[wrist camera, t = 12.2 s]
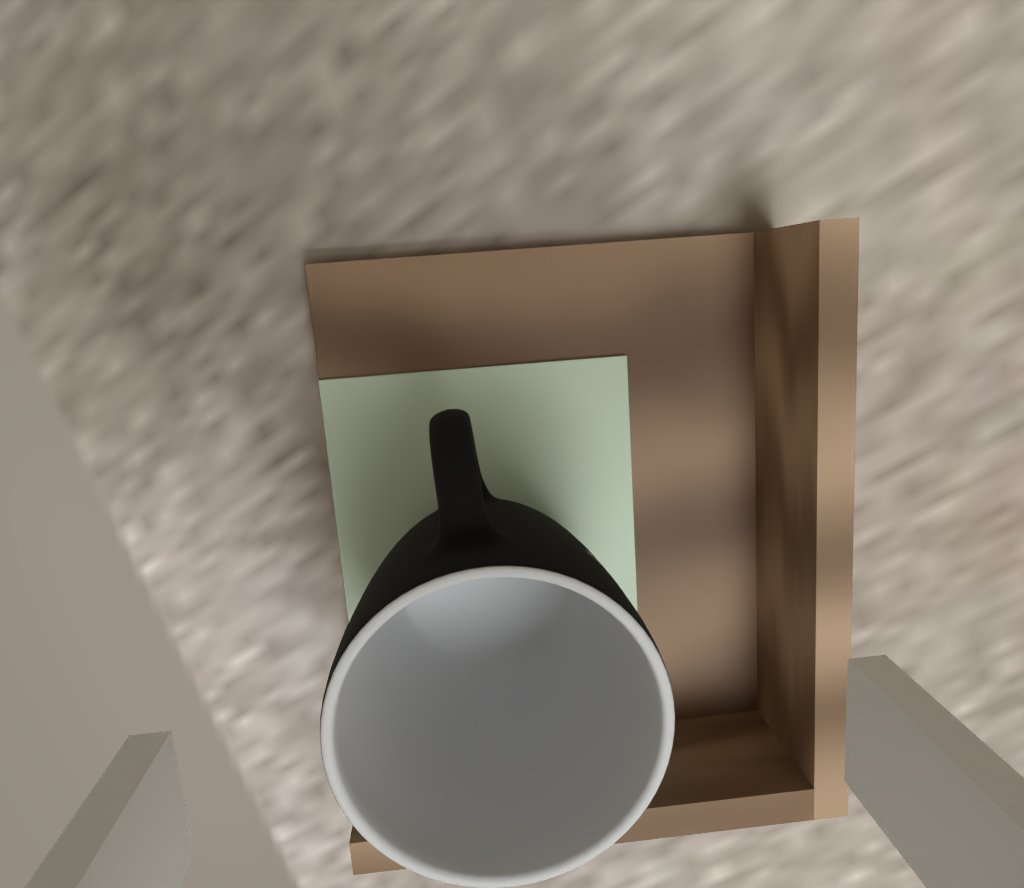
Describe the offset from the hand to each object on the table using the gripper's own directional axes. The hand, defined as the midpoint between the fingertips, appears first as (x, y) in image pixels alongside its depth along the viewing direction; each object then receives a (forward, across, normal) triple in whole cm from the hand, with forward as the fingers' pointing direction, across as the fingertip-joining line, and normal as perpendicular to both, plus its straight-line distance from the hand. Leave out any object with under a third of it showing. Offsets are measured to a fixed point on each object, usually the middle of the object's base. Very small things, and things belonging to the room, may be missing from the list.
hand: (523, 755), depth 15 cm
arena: (+15, +3, 0) cm, 15 cm away
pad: (+14, 0, -1) cm, 14 cm away
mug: (+14, 0, -1) cm, 14 cm away
